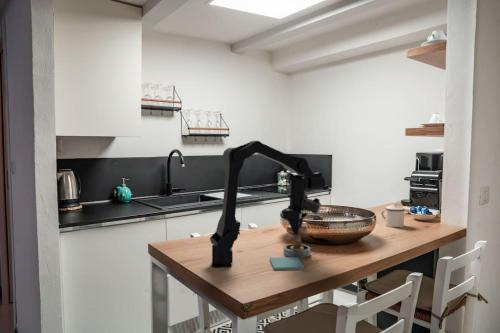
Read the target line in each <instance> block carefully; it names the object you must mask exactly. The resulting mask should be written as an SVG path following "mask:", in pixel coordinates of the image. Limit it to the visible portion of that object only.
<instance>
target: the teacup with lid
mask: <svg viewBox="0 0 500 333" xmlns="http://www.w3.org/2000/svg"><path fill="white" fill-rule="evenodd" d="M405 210H406V209H405V207H403V206H401V205H399V204H398V203H397V202H393V203H392V204H391V205H388V206H385V209H383V210H381V212H380V215H381V218H382V219H384V221H385V223H384V224H385V226H387V227H388V226H389V228H395V227H400V228H403V227H404V226H405ZM384 213H385V215H384Z"/></svg>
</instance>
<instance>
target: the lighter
mask: <svg viewBox="0 0 500 333" xmlns="http://www.w3.org/2000/svg"><path fill="white" fill-rule="evenodd" d="M310 220H323V221H324V216H323V215H321V214H315V213H311V214H310Z"/></svg>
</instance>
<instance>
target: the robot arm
mask: <svg viewBox="0 0 500 333" xmlns="http://www.w3.org/2000/svg"><path fill="white" fill-rule="evenodd" d="M255 154H257V155H259V156H262V157H264V158H266V159H269V160H271V161H272V162H276V163H277V164H280V165H281V166H282V167H283V168H284V169H285V170H287V171H288V174H286V176H284V180H287V181H289V194H287V197H288V199H289V205H288V206H287V209H284V210H283V211H282V213H281V214H282V215H281V217H282V218H283V219H287V221H288V224H289V225H290V226H291V228H292V230H293V232H294V234H295V235H297V234H298V229H299V226H302V225H303V222H304V218H305V217H307V216H308V215H309V213H308V212H311V214H314V215H318V213H319V211H320V209H321V207H322V203H321V202H320V199H319V198H317V197H314V198H313V199H310V198H308V195H307V193H306V191H307V192H316V191H318V192H319V191H321V192H322V191H324V190H325V187H326V180H325V178H324V176H323V173H322V172H315V173H314V172H313V171H312V169H311V167H310V166H309V163H308V160H307V159H305V158H303V157H300V156H295V155H290V154H287V153H285V152H282V151H280V150H279V149H275V148H273V147H272V146H269V145H267V144H264V143H262V142H261V141H259V140H250V141H249V142H247V143H244V144H243V145H239V146H236V147H227V148H226V149H225V150H223V153H222V163H223V168H224V173H225V179H224V191H223V200H222V210H221V211H222V213H221V215H220V217H219V220H218V222H217V226H216V230H215V232H214V233H213V234H212V235H211V237H209V240H210V243H211V267H212V268H224V267H225V268H226V267H227V268H228V267H232V264H233V255H234V254H233V246H234V243H235V241H237V240H238V237H239V235H241V232H240V229H241V222H240V221H239V220H237V219H236V213H237V212H236V211H237V210H236V208H237V201H238V200H237V199H238V189H239V187H238V186H239V180H240V179H239V177H240V176H239V175H240V173H241V172H242V169H243V166H244V163H245V160H246V159H248V158H250V157H252V156H253V155H255ZM302 176H303V177H302ZM305 211H307V212H305ZM302 227H303V226H302Z"/></svg>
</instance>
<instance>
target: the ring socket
mask: <svg viewBox="0 0 500 333" xmlns="http://www.w3.org/2000/svg"><path fill="white" fill-rule="evenodd" d="M291 246H293V243H289V244H285V245H284V246H283V255H284V256H285V257H298V258H299V259H304V258H305V259H306V258H308V257H309V258H310V257H311V247H310V246H309V245H306V244H302V243H301V246H302V247H304V250H303V251H294V250H290V247H291Z"/></svg>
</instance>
